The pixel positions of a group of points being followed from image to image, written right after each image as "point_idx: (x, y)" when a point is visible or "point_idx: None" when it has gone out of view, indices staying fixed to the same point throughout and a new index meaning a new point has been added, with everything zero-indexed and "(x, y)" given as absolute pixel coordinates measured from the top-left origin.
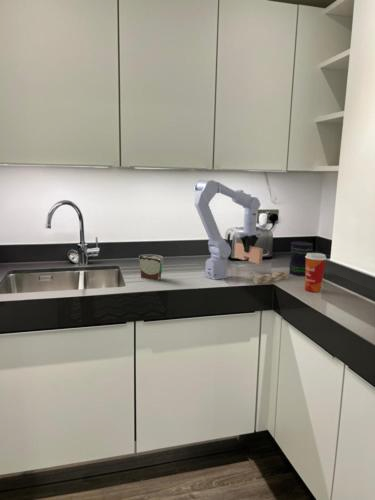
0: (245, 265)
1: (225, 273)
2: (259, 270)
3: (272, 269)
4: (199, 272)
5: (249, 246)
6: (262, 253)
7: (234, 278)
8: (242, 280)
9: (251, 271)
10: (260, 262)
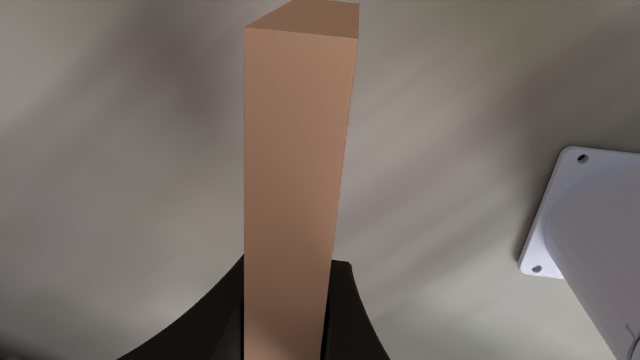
0: (147, 299)
1: (638, 178)
2: (152, 151)
3: (17, 107)
4: (591, 355)
5: (318, 319)
6: (274, 12)
7: (568, 103)
8: (584, 7)
9: (240, 169)
10: (326, 3)
